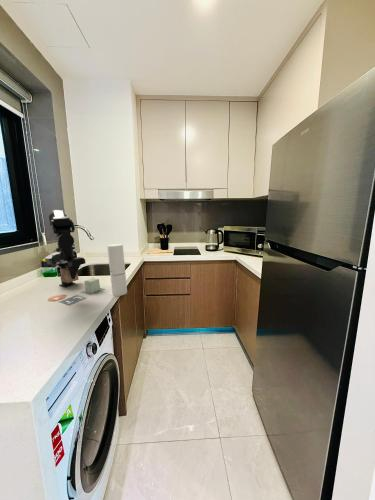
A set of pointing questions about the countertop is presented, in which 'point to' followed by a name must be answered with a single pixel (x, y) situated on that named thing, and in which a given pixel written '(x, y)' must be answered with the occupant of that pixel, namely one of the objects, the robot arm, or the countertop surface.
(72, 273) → the robot arm
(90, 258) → the countertop surface
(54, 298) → the coaster
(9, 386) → the countertop surface
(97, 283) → the sage block
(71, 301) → the tile
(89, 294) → the code tile
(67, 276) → the walnut block
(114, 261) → the tall white block
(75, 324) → the countertop surface
